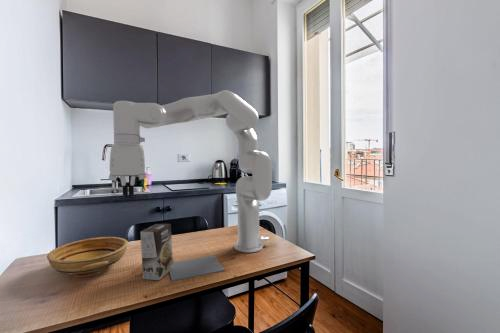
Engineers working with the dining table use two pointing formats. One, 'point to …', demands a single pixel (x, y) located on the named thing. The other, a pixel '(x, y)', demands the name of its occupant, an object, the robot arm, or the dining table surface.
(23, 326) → the dining table surface
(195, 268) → the grey mat
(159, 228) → the coffee box
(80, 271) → the brown oval basket
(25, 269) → the dining table surface
